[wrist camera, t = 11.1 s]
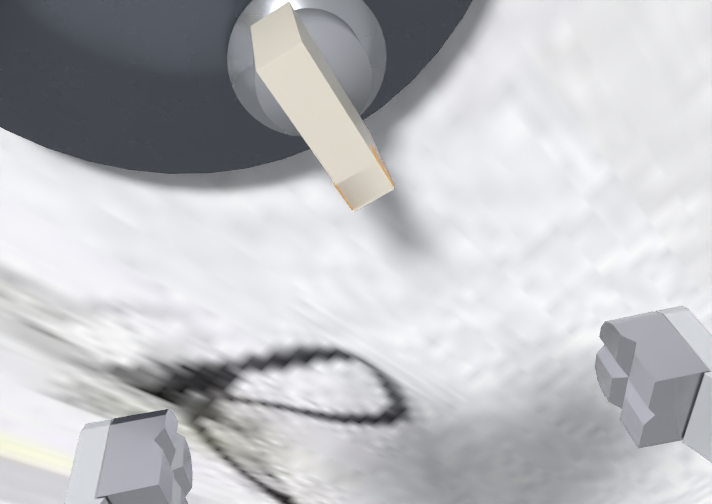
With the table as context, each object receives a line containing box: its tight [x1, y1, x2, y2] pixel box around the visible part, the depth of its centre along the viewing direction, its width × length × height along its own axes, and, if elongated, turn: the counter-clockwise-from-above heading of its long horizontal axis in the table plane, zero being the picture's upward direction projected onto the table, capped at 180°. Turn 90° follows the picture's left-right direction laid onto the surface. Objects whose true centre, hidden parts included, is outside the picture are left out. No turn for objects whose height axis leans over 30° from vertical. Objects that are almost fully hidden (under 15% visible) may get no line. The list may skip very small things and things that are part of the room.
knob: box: [251, 1, 394, 211], centre depth 23 cm, size 6×4×6 cm
